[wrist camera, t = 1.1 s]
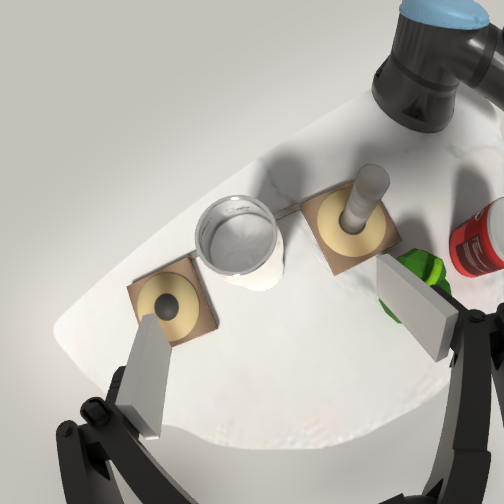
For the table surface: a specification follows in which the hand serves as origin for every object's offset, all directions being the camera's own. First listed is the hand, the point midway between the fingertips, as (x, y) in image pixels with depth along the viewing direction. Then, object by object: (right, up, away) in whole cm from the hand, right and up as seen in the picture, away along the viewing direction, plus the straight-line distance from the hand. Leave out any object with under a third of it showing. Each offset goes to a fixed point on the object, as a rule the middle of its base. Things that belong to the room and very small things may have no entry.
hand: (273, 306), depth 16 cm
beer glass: (0, +1, +21) cm, 21 cm away
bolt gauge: (0, +1, +21) cm, 21 cm away
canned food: (+30, +3, +17) cm, 34 cm away
